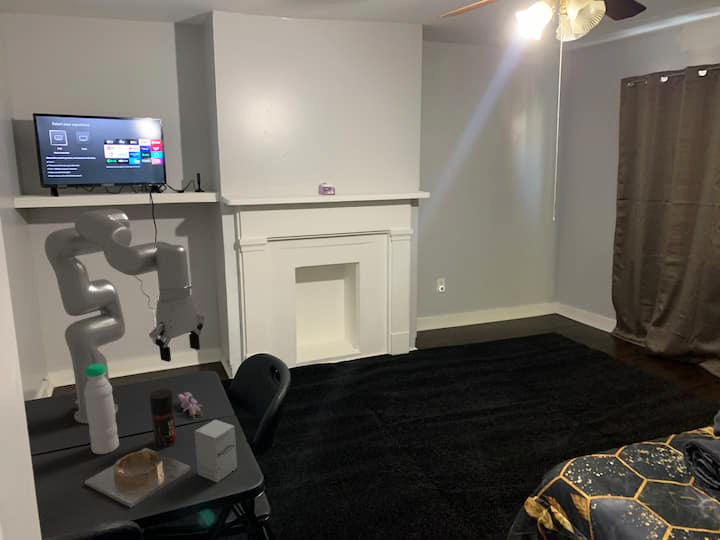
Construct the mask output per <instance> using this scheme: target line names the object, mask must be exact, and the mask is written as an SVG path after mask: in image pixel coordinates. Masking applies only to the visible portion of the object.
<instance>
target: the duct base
mask: <svg viewBox="0 0 720 540" xmlns="http://www.w3.org/2000/svg"><path fill="white" fill-rule="evenodd" d="M190 470H191V466H190V465H188V464H187V463H186V464H185V463H183V462H180V461H178V460H176V459H174V458H172V457H170V456H166V455H164V454H162V453H159V452H157V451H155V450H153V449H149V448H147V447H143V448H142V449H140V450H139V451H135V452H131V453H127V454H126V455H124V456H122V457H121V458H119V459H117V460H116V461H115V463H114V464H113V465H111V466H109V467H107V468H105V469H104V470H102V471H101V472H98V473H97V474H95V475H94V476H92V477H90V478H88V479H85V481H84V483H85V486H86V485H87V486H88V487H90V488H91V489H94V490H96V491H98V492H99V493H101V494H103V495H105V496H108V497H109V498H111V499H113V500H115V501H117V502H118V503H121V504H122V505H124V506H127V507H128V508H132V507H135V506H136V505H138V504H139V503H141V502H142V501H144V500H145V499H147V498H149V497H151V496H152V495H153V494H155V493H157V492H158V491H160V490H161V489H162V488H165V486H167V485H169V484H170V483H172V482H174V481H175V480H177V479H178V478H180V477H182V476H183V475H184V474H186V473H188V472H189V471H190Z"/></svg>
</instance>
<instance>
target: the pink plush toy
mask: <svg viewBox="0 0 720 540" xmlns="http://www.w3.org/2000/svg"><path fill="white" fill-rule="evenodd" d="M177 396H178V399H179V401H180V402H181V405H180V407H181V408H183V410H182V411H183V412H186V411H189V412H188V413H189V416H190V417H192V419H196V416H199V415H200V417H203V416H204V415H203V412H202V410H201V408H200V407H203V405H202V404H198V401H197V400H196V399H195V398H194V397H193V394H192V393H190V392H189V391H186V392H183V394H182V393H178V394H177Z"/></svg>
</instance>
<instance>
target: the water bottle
mask: <svg viewBox="0 0 720 540" xmlns="http://www.w3.org/2000/svg"><path fill="white" fill-rule="evenodd" d="M104 374H105V366H104V365H103V364H92V365H89V366H88V367H87V368H86V375H87V377H88V378H89V380H88V382H87V386H86V388H85V390H84V396H85V398H86V411H87V418H88V423H87V424H88V426H89V429H88V430H89V437H90V447H91V451H92V452H93V453H94V454H96V455H106V454H109V452H110V453H111V452H114V451H115V450H117V448H118V447H119V446H120V441H119V435H118V426H117V422H116V414H115V408H114V403H115V401H114V397H113V386H112V385H111V383H110V381H109V382H108V381H107V379H106V378H105V377H104Z"/></svg>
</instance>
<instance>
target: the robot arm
mask: <svg viewBox="0 0 720 540" xmlns="http://www.w3.org/2000/svg"><path fill="white" fill-rule="evenodd" d="M130 227H131V225H130V219H129V217H128V216H127V214H126V213H125V212H124V211H122V210H120V209H119V208H118V209H117V208H107V209H106V208H105V209H98V210H97V209H96V210H90V211H89V210H88V211H86V212H83V213H81V214H80V215H78V216H77V218H76V219H75V221H74V226H73V227H66V228H63V229H58V230H55V231H52V232H51V233H50V234H48V235H47V236H46V238H45V240H44V251H45V255H46V258H47V260H48V261H49V264H50V266H51V267H52V270H53V272H54V274H55V276H56V281H57V286H58V290H59V293H60V294H59V295H60V299H61V301H62V305H63V308H64V310H65V312H66V314H67V315H69V316H72V317H79V316H84V315H88V314H91V313H95V312H98V311H99V313H100V314H98V315H94V316H89V317H87V318H83V319H79V320H76V321H74V322H73V323H70V324H69V325H68V326H67V327H66V329H65V331H64V338H65V342H66V345H67V347H68V350H69V353H70V356H71V363H72V369H73V376H74V382H75V389H76V390H75V391H76V395H77V399H76V400H75V401H74V403H75V404H76V405H78V410H77V411H76V412H75V413H74V421H75V422H77V423H81V424H89V423H88V418H87V411H86V398H85V396H84V390H85V388H86V386H87V382H88V380H89V378H88V377H87V375H86V368H87V367H88V366H89V365H92V364H103V365H104V366H105V374H104V377H105V378H106V379H107V381H108V382H109V383H110V377H109V375H110V374H109V368H108V361H107V357H106V356H105V354H103V353H102V352H100V351H99V348H100V347H102V346H104V345H107V344H110V343H113V342H115V341H119V340H120V339H122V338H123V337H124V336H125V333H126V324H125V318H124V315H123V309H122V306H121V305H122V304H121V299H120V297H119V292H118V290H117V288H116V286H115V285H114V283H113V282H111V281H110V280H108V279H104V278H100V279H95V280H90V277H89V274H88V269H87V267H86V265H85V264H84V263H83V262H82V261H81V260H80V259H78V258H77V257H79V256H85V255H90V254H91V255H92V254H95V253H96V254H97V253H100V252H103V255H104V259H105V260H106V262H107V263H108V265H109V266H110V267H111V268H113V269H114V270H116V271H118V272H120V273H122V274H124V275H127V276H133V277H134V276H140V275H144V274H147V273H152V272H156V273H157V280H158V289H159V291H158V292H159V299H158V300H157V301H156V312H155V314H156V315H155V318H156V319H155V321H156V323H155V324H156V326H155V328H153V329H152V330H151V332H150V333H149V334H148V336H149V338H150V339H151V340H152V343H153V344H155V345H156V346H157V347H158V348H159V354H160V356H159V357H160V360H161V361H164V362H166V363H167V362H171V361H172V357H171V355H172V354H171V348H170V346H169V344H170V342H171V340H172V339H175V338H178V337H180V336H183V335H185V334H188V333H189V335H188V339H189V348H190V349H193V350H196V351H199V350H200V349H201V346H200V335H201V333H202V329H203V327H204V323H205V320H206V319H205V316H204V315H200V314H197V311H196V310H197V309H196V304H195V301H194V298H193V295H192V294H191V289H193V286H192V284H191V283H190V278H189V276H190V275H189V267H188V266H189V265H188V256H187V254H188V253H187V249H186V247H185V246H183V245H179V244H171V243H169V242H165V241H155V242H147V243H142V244H137V245H131V243H132V239H133V238H132V235H133V234H132V231H131V229H130ZM130 245H131V246H130ZM114 408H115V415H116V414H117V413H119V406H118V404H117V403H115V402H114Z"/></svg>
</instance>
